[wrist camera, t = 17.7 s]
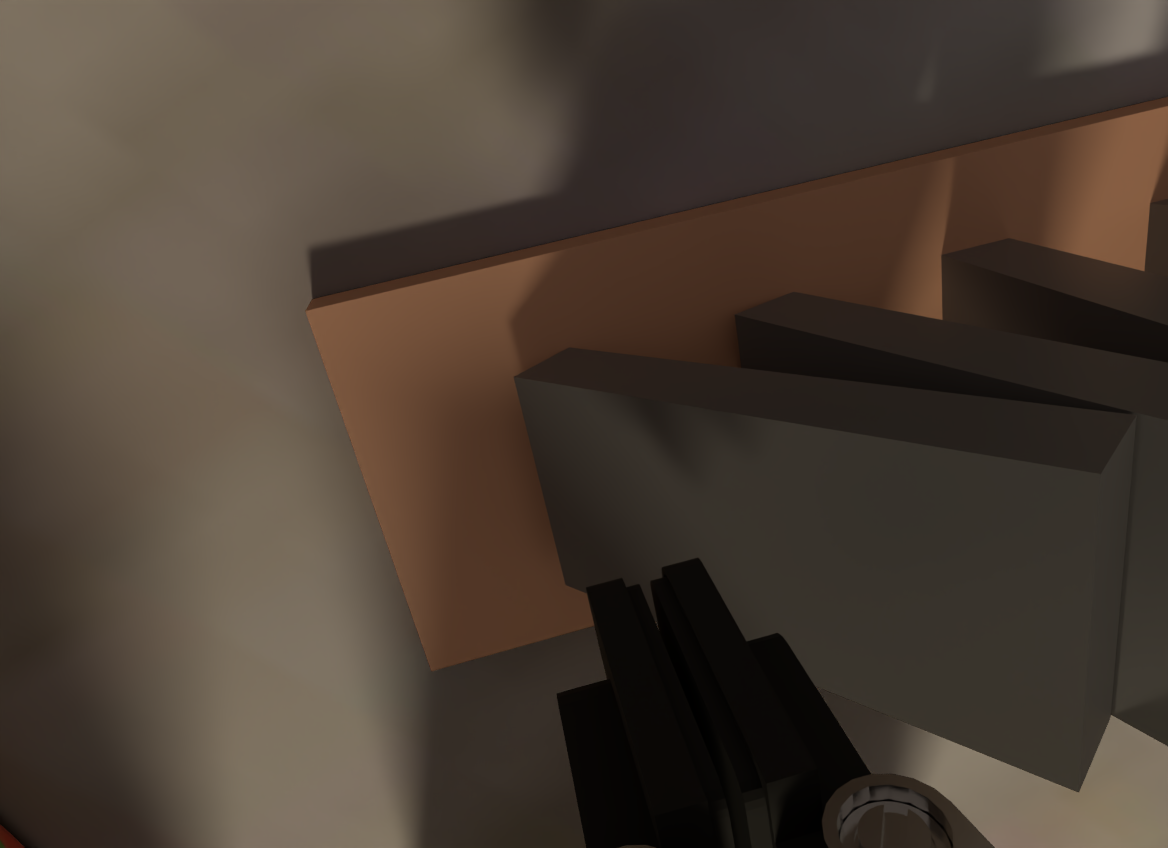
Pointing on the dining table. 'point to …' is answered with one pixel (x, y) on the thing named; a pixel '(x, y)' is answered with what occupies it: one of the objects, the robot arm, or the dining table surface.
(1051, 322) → the domino
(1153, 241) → the domino
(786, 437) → the domino
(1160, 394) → the domino
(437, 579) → the domino board
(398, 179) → the dining table surface
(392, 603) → the dining table surface
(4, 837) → the cracker box
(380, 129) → the dining table surface
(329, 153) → the dining table surface
